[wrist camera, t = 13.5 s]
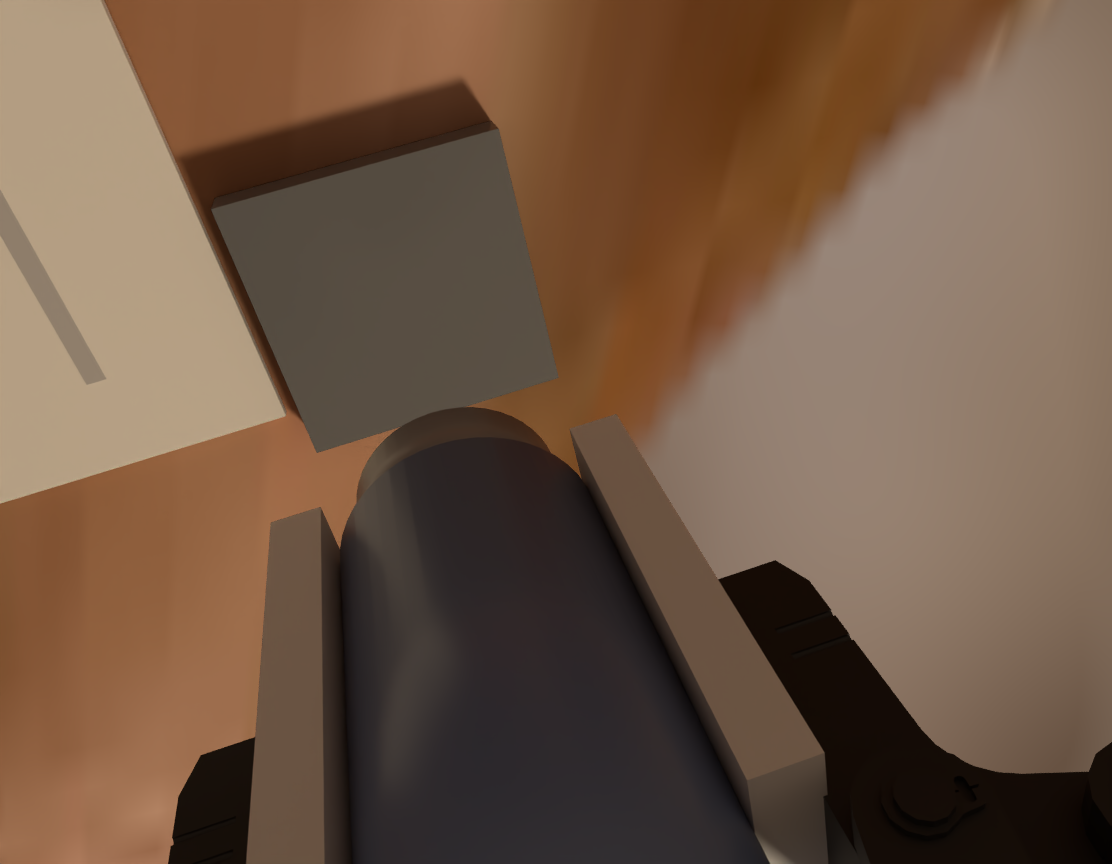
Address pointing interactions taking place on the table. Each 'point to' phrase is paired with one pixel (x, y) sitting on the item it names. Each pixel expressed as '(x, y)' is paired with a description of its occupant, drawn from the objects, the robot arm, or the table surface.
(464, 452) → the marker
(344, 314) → the coaster
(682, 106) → the table surface
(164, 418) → the paper
